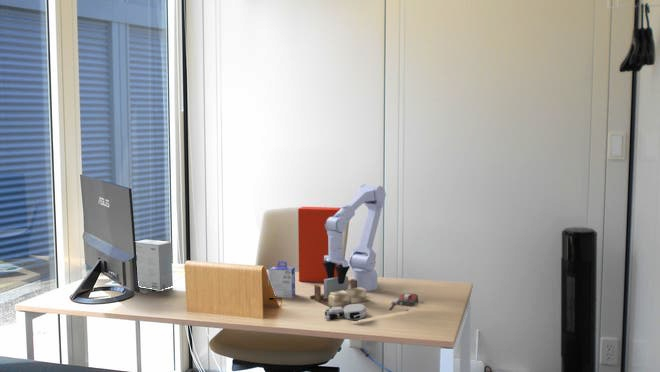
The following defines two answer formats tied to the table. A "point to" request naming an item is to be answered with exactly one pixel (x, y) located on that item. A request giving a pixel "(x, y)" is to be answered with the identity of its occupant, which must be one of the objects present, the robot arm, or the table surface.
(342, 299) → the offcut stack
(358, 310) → the robot toy
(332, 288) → the grey rectangular slab
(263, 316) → the table surface
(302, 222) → the file binder
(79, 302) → the table surface
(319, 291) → the walnut rack
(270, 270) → the ink cartridge box
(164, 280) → the hard drive box
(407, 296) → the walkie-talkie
